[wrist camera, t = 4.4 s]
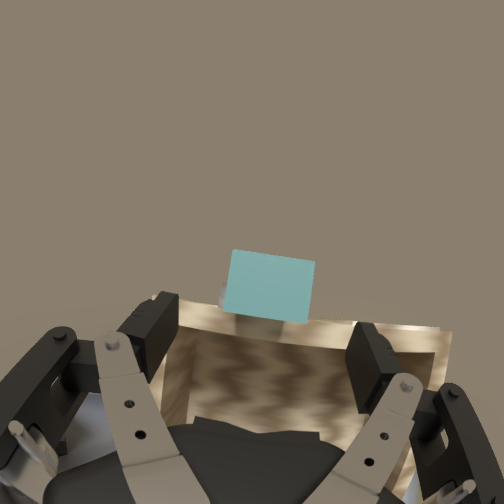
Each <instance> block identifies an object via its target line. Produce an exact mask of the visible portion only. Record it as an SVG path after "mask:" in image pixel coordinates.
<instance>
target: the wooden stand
mask: <svg viewBox="0 0 504 504" xmlns="http://www.w3.org/2000/svg"><path fill="white" fill-rule="evenodd" d="M226 288H227V284H226V283H222V287H221V293H220V299H219V305H218V306H216V305H210V304H205V303H199V302H193V301H188V300H182V299H179V326H178V332H177V335H176V337H175V339H174V341H173V343H172V344H171V346H170V348H169V350H168V352H167V353H166V355H165V357H164V359H163V361H162V362H161V364H160V366H159V368H158V370H157V372H156V373H155V375H154V377H153V379H152V381H151V383H150V384H148V385H149V388H150V390H151V393H152V395H153V398H154V400H155V402H156V405H157V407H158V409H159V411H160V414H161V416H162V418H163V420H164V422H165V425H166V427H169V426H173V425H179V424H193V421H194V418H195V416H198V417H203V418H208V419H213V420H218V421H223V422H227V423H230V424H232V425H235V426H238V427H240V428H243V429H246V430H249V431H252V432H255V433H268V432H278V431H287V430H295V431H313V432H319V434H320V440H321V441H325V442H328V443H330V444H333V445H335V446H337V447H339V448H340V449H342V450H343V451H346V450H347V449H348V447H349V446H350V445H351V443H352V442H353V440H354V439H355V438H356V436H357V435H358V433H359V432H360V430H361V429H362V427H363V426H364V424H365V423H366V421H367V420H368V418H369V414H358V410H357V405H356V401H355V397H354V393H353V390H352V386H351V382H350V378H349V374H348V371H347V367H346V363H345V352H346V348H347V346H348V343H349V340H350V338H351V335H352V332H353V329H354V327H355V324H356V323H357V322H358V321H348V320H337V319H328V318H321V321H318V320H309V319H308V320H307V324H306V323H298V322H290V321H282V320H275V319H268V318H262V317H255V316H248V315H242V314H236V313H230V312H224V311H223V306H224V300H225V294H226ZM156 297H157V295H153V296H152V300H154V299H155V298H156ZM368 323H369V322H368ZM374 325H375V327H376V329H377V331H378V333H379V334H382V335H383V336H384V337H385V338H387V339H388V340H389V342H390V344H391V345H392V347H393V350H394V351H395V353H396V356H397V357H398V359H399V361H400V363H401V365H402V367H403V369H404V371H405V373H408V374H411V375H413V376H415V377H416V378H418V379H419V380H420V382H421V383H422V385H423V389H427V390H432V391H438V390H439V388H440V387H441V385H442V384H443V383H444V378H445V373H446V368H447V363H448V358H449V351H450V345H451V338H452V332H445V331H440V327H423V326H407V325H393V324H379V323H374ZM415 470H416V464H415V460H414V456H413V452H412V448H411V444H410V440H409V437H408V439H407V442H406V444H405V446H404V448H403V450H402V452H401V454H400V456H399V458H398V460H397V462H396V464H395V466H394V468H393V470H392V472H391V474H390V476H389V478H388V479H387V481H386V483H385V485H384V486H385V487H386V488H387V489H388V490H389V491H390V492H392V493H393V494H394V495H395V496H396V497H398V498H399V499H400V500H402V498H403V496H404V494H405V492H406V490H407V487H408V485H409V483H410V481H411V479H412V477H413V474H414V472H415Z"/></svg>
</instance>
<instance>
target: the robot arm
mask: <svg viewBox="0 0 504 504" xmlns="http://www.w3.org/2000/svg"><path fill="white" fill-rule="evenodd" d="M178 326H179V296H178V294H174V293H170V292H164V291H161V292H160V293H159V295H158V296H157V297H156V298H155V299H154V300H151V299H149V300H147V301H145V302H143V303H141V304H140V305H139V306H138V307H137V308H136V309H135V311H133V312H132V314H131V316H129V317H128V318H127V319H126V320H125V322H124V323H123V324H122V325H121V326H120V327H119V329H118V330H117V331H109V332H105V333H102V334H100V335H99V336H98V337H97V338H96V339H95V341H88V340H77V336H76V333H75V332H74V330H73V329H71V328H69V327H63V326H61V327H55V328H53V329H51V330H49V331H48V332H47V333H46V334H45V335H44V336H43V337H42V338H41V339H40V340H39V341H38V342H37V343H36V344H35V345H34V346H33V347H32V348H31V349H30V350H29V351H28V352H27V353H26V354H25V356H23V357H22V359H21V360H20V361H19V362H18V363H17V364H16V365H15V366H14V367H13V368H12V369H11V371H10V372H9V373H8V374H7V375H6V376H5V377H4V379H3V380H2V381H1V382H0V482H1V483H3V484H5V485H6V486H7V487H8V488H10V489H11V490H12V491H13V492H15V493H17V494H19V495H25V496H27V497H28V498H30V499H31V500H33V501H34V502H36V503H37V504H405V503H404V502H403V501H401V500H400V499H399V498H398V497H396V496H395V495H394V494H393V493H392V492H390V491H389V490H388V489H387V488H386V487H385V486H384V485H385V483H386V481H387V479H388V478H389V476H390V474H391V472H392V470H393V468H394V466H395V464H396V462H397V460H398V458H399V456H400V454H401V452H402V450H403V448H404V446H405V444H406V442H407V439H408V437H409V440H410V444H411V448H412V452H413V456H414V460H415V464H416V468H417V473H418V477H419V482H420V487H421V491H422V497H423V503H422V504H504V479H503V476H502V473H501V470H500V468H499V465H498V462H497V460H496V457H495V455H494V452H493V450H492V448H491V445H490V443H489V441H488V438H487V436H486V434H485V432H484V430H483V428H482V425H481V423H480V421H479V419H478V417H477V415H476V413H475V411H474V409H473V407H472V405H471V403H470V401H469V399H468V398H467V396H466V394H465V392H464V391H463V389H462V388H460V387H459V386H458V385H456V384H453V383H444V384H442V385H441V387H440V388H439V390H438V391H432V390H427V389H423V385H422V383H421V382H420V380H419V379H418V378H416V377H415V376H413V375H411V374H408V373H405V371H404V369H403V367H402V365H401V363H400V361H399V359H398V357H397V356H396V353H395V351H394V350H393V347H392V345H391V344H390V342H389V340H388V339H387V338H385V337H384V336H383V335H382V334H379V333H378V331H377V329H376V327H375V325H374V323H368V322H357V323H356V324H355V327H354V329H353V332H352V335H351V338H350V340H349V343H348V346H347V348H346V352H345V363H346V367H347V371H348V374H349V378H350V382H351V386H352V390H353V393H354V397H355V401H356V405H357V410H358V414H369V418H368V420H367V421H366V423H365V424H364V426H363V427H362V429H361V430H360V432H359V433H358V435H357V436H356V438H355V439H354V440H353V442H352V443H351V445H350V446H349V447H348V449H347V450H346V451H343V450H342V449H340V448H339V447H337V446H335V445H333V444H330V443H328V442H325V441H321V440H320V434H319V432H313V431H295V430H287V431H278V432H268V433H255V432H252V431H249V430H246V429H243V428H240V427H238V426H235V425H232V424H230V423H227V422H223V421H218V420H213V419H208V418H203V417H198V416H195V418H194V421H193V424H179V425H173V426H169V427H166V425H165V422H164V420H163V418H162V416H161V414H160V411H159V409H158V407H157V405H156V402H155V400H154V398H153V395H152V393H151V390H150V388H149V385H148V384H150V383H151V381H152V379H153V377H154V375H155V373H156V372H157V370H158V368H159V366H160V364H161V362H162V361H163V359H164V357H165V355H166V353H167V352H168V350H169V348H170V346H171V344H172V343H173V341H174V339H175V337H176V335H177V332H178ZM57 377H58V379H57V380H56V381H55V379H56V378H57ZM54 381H55V382H54ZM53 382H54V384H53V385H52V383H53ZM51 385H52V386H51ZM89 392H92V393H101V394H102V398H103V402H104V407H105V411H106V415H107V419H108V423H109V426H110V430H111V433H112V437H113V440H114V443H115V446H116V450H117V451H114V452H112V453H110V454H107V455H105V456H103V457H100V458H98V459H96V460H93V461H91V462H88V463H86V464H83V465H80V466H78V467H75V468H72V469H70V470H67V471H64V472H62V473H60V474H58V475H56V473H57V467H58V456H57V454H56V452H55V449H56V447H57V445H58V444H59V442H60V440H61V438H62V437H63V435H64V433H65V431H66V430H67V428H68V426H69V424H70V423H71V421H72V419H73V418H74V416H75V414H76V413H77V411H78V409H79V408H80V406H81V404H82V403H83V401H84V399H85V398H86V396H87V395H88V393H89ZM444 429H445V431H446V434H447V436H448V440H449V444H448V447H447V449H446V448H445V445H444V442H443V440H442V437H441V434H440V433H441V432H442V431H443V430H444Z"/></svg>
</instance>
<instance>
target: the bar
mask: <svg viewBox="0 0 504 504" xmlns="http://www.w3.org/2000/svg"><path fill="white" fill-rule="evenodd" d="M314 267H315V262H314V261H307V260H301V259H294V258H288V257H281V256H275V255H268V254H261V253H255V252H248V251H242V250H235V249H233V253H232V259H231V265H230V271H229V276H228V283H227V288H226V294H225V300H224V306H223V311H224V312H230V313H236V314H242V315H248V316H255V317H262V318H268V319H275V320H282V321H290V322H298V323H306V324H307V320H308V312H309V306H310V299H311V291H312V284H313V275H314Z"/></svg>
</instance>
